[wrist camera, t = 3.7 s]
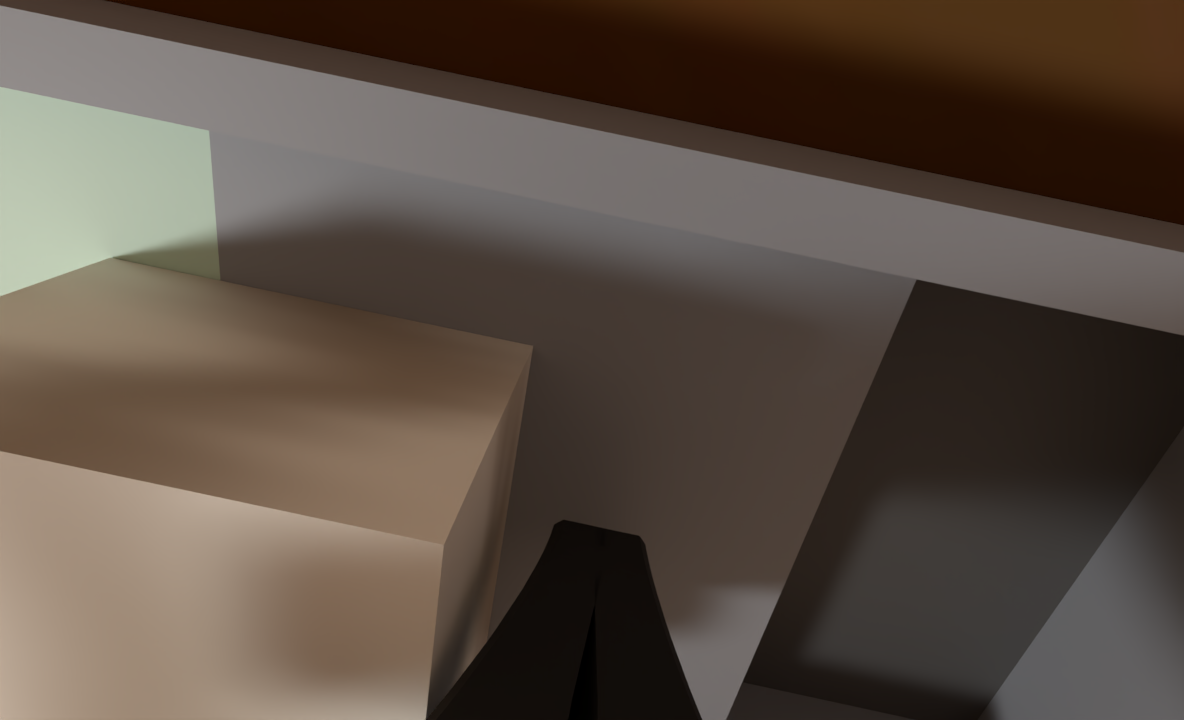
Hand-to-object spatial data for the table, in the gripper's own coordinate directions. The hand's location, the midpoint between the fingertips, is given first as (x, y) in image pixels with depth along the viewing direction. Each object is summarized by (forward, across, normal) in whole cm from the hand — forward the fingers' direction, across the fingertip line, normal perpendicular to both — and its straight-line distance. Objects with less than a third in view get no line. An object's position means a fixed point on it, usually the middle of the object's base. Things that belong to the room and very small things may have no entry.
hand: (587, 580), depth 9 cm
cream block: (+1, +4, 0) cm, 5 cm away
